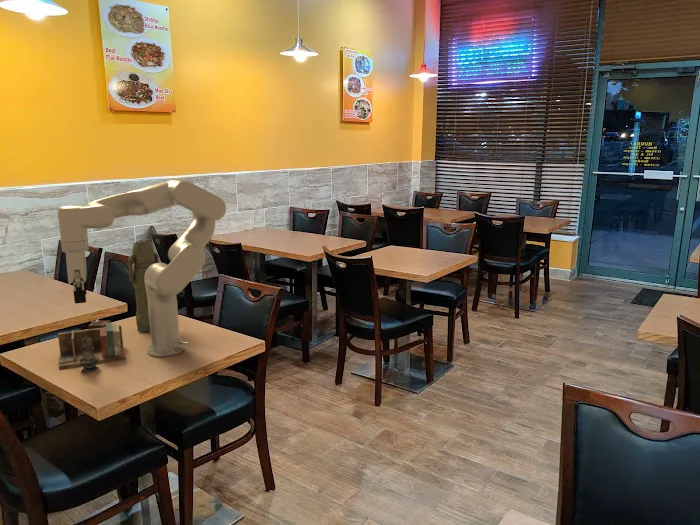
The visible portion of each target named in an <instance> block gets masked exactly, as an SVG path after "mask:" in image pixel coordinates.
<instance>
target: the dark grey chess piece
mask: <svg viewBox="0 0 700 525" xmlns="http://www.w3.org/2000/svg"><path fill="white" fill-rule="evenodd" d="M82 346H83V348H82V351H83V358H81V359H80V360H79V363H80V364H81V366H80V367H82V369H80V372H81V373H83V374H91V373H96V372H97V371H99V369H100V367H99V366H97V365H98V364H99V363H98V360H99V357H97V356H94V354H93V349H94V347H92V339H91V338H90V337H87V335H86V336H85V338H84V339H83V340H82ZM97 363H98V364H97Z"/></svg>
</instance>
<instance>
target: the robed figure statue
mask: <svg viewBox="0 0 700 525" xmlns="http://www.w3.org/2000/svg"><path fill="white" fill-rule="evenodd" d="M131 253H132V254H131V255H129V256H128V258H127V264H128V277H129V282H130V284H131V283H132V284H133V286H132V287H133V289H134V290H135V302H136V303H135V304H136V312H135V323H136V327H137V328H136V329H137V332H138V333H142V334H147V333H148V334H149V333H150V322H149V308H148V298H147V292H146V287H145V281H144V276H145V272H146V270H147V268H148V267H149V266H150V265H152V264H154V263H160V257H159V254H158V253H157V252H155V251H154V247H153V245H152V243H151V242H150V241H149V240H138V241H136V242H133V245H132V252H131Z"/></svg>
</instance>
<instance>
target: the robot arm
mask: <svg viewBox="0 0 700 525" xmlns="http://www.w3.org/2000/svg"><path fill="white" fill-rule="evenodd" d="M174 206H180V207H183V208H185V209H186V210H189V211H191V212H192V219H191V222H190V224H189V226H188V227H187V228H186V230H185V231H184V232H183V233H182V234H181V235H180V236H179V237H178V239H176V241H174V243H173V244H172V245H170V248H168V249H169V250H168V251H167V257H168V259H169V261H170V262H169V263H168V264H167V263H164V262H159V263H155V262H154V264H152V265H150V266H149V267H148V268H147V270H146V272H145V276H144V281H145V287H146V292H147V298H148V308H149V322H150V345H149V346H148V347H147V349H146V353H147V354H148V355H149V356H152V357H159V358H161V357H162V358H164V357H172V356H174V355H175V356H176V355H178V354H181V353H182V352H183V351H184V350H188V346H189V342H188V341H183V337H182V336H180V328H179V325H180V324H179V314H178V300H177V299H178V298H177V297H178V296H177V295H178V294H179V293H181V292H182V291H183V290H184V289H185V288H186V287H187V285H189V283H190V282H191V281H192V280H193V279H194V278H195V277H196V275H198V273H199V272H200V270H201V269H202V268H203V267H204V264H205V261H206V253H205V251H204V248H205V246H206V245H207V244H208V243H209V241H211V239H212V237H213V236H214V233H215V228H216V221H219V220H221V219H222V218H223V217H224V216H225V214H226V211H227V205H226V203H225V201H224V200H223V199H222V198H221V197H220V196H219V195H216V194H214V193H212V192H210V191H208V190H206V189H203V187H200V186H198V185H196V184H194V183H193V182H190V181H188V180H183V179H177V178H175V179H171V180H167V181H163V182H160V183H156V184H154V185H153V184H152V185H150V186H146V187H143V188H142V187H141V188H140V189H136V190H131V191H130V190H129V191H127V192H124V193H119V194H115V195H110V196H107V197H103V198H101V199H97V200H93V201H90V202H89V203H87V204H85V205H84V206H82V205H64V206H60V207H59V208H58V210H57V217H58V218H57V220H58V225H59V226H58V227H59V236H60V244H61V245H60V246H61V252H63V253H65V260H66V261H65V262H66V271H67V272H66V273H67V281H68V284H69V285H71V284H72V283H73V301H74V304H85V303H87V297H86V296H87V285H86V281H87V259H86V252H87V251H89V250H90V249H89V248H90V247H89V246H90V245H89V237H88V235H89V234H88V229H96V230H97V229H107V228H109V227H110V226H112V225H113V223H114V221H115V219H120V218H122V217H128V216H147V215H151V214H153V213H155V212H159V211H161V210H165V209H169V208H172V207H174Z"/></svg>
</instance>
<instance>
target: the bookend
mask: <svg viewBox="0 0 700 525" xmlns="http://www.w3.org/2000/svg"><path fill="white" fill-rule="evenodd" d="M74 331H75V330H74V329H73V330H71V332H72V348H73V352H66V353H59V358H58V359H59V360H58V365H59V364H61V363H68V362H74V361H76V343H75V334H74Z"/></svg>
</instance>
